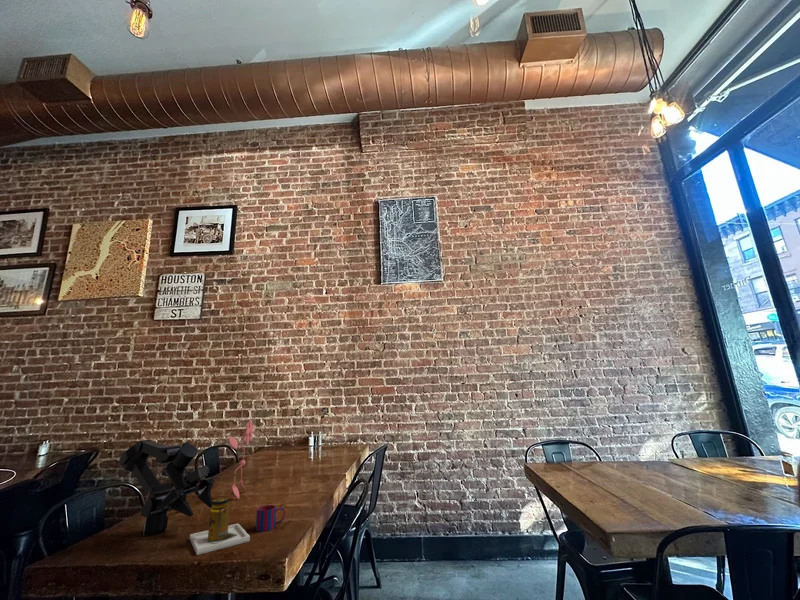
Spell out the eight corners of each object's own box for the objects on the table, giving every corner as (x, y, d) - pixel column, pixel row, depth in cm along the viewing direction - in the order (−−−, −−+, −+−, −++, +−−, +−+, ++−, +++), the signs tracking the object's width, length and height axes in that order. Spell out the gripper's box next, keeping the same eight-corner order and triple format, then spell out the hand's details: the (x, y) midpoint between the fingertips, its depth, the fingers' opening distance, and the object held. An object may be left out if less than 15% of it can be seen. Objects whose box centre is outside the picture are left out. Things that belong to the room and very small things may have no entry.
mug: (258, 525, 134) (259, 505, 135) (285, 523, 135) (286, 503, 136) (253, 532, 127) (254, 511, 129) (282, 530, 128) (283, 509, 130)
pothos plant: (217, 504, 159) (226, 422, 168) (238, 489, 184) (245, 418, 192) (252, 504, 160) (260, 421, 169) (269, 488, 185) (274, 417, 193)
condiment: (201, 540, 120) (205, 500, 123) (225, 531, 127) (228, 494, 130) (214, 544, 117) (218, 503, 120) (238, 535, 124) (240, 497, 127)
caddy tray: (196, 555, 110) (197, 549, 111) (189, 539, 123) (190, 534, 123) (249, 541, 120) (250, 536, 120) (238, 527, 132) (238, 523, 132)
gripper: (173, 464, 121) (197, 502, 116) (213, 454, 139) (235, 486, 134) (151, 489, 121) (174, 527, 116) (193, 476, 139) (215, 509, 134)
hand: (202, 511), depth 125 cm, fingers open, 9 cm apart
